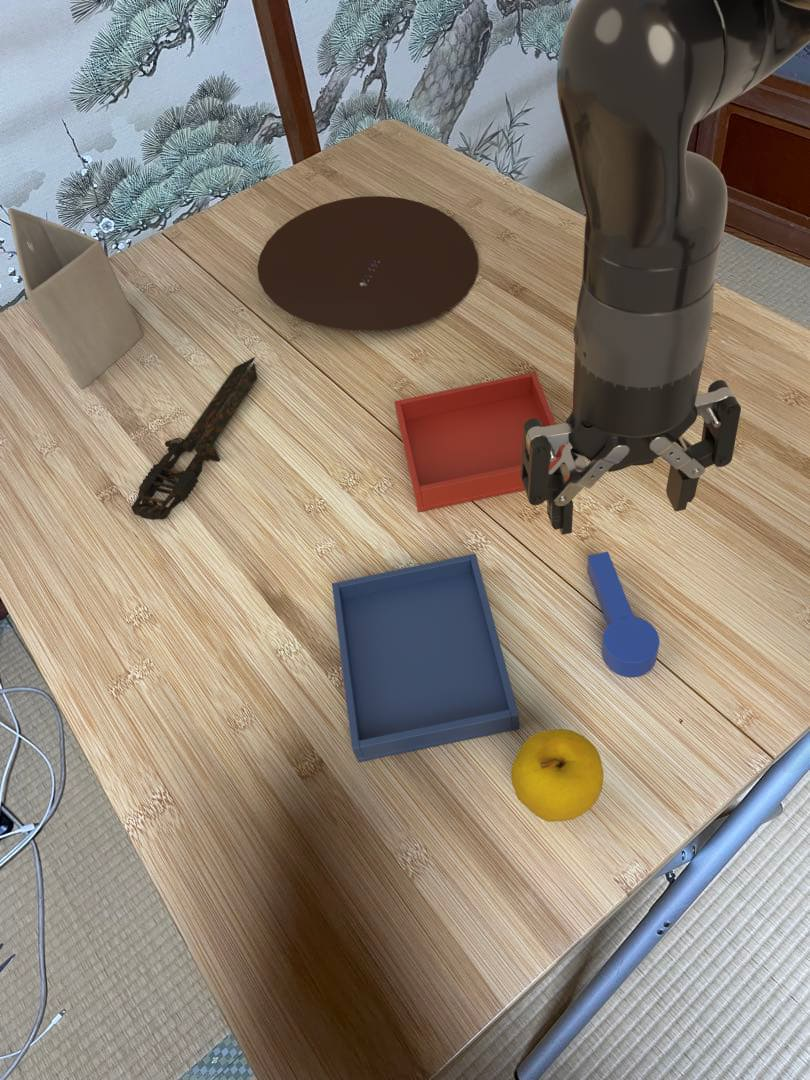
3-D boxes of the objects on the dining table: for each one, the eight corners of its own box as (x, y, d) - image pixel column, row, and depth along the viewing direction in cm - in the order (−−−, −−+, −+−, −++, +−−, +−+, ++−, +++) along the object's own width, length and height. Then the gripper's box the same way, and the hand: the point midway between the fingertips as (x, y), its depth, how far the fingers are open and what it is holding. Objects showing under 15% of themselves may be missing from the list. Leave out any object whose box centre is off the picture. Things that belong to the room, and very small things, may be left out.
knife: (246, 359, 101) (243, 350, 100) (291, 369, 98) (288, 360, 97) (119, 510, 88) (114, 502, 87) (167, 526, 85) (163, 518, 84)
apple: (503, 824, 62) (498, 782, 56) (526, 746, 66) (524, 699, 59) (589, 850, 60) (594, 810, 54) (608, 769, 64) (614, 723, 57)
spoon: (572, 574, 75) (573, 558, 73) (620, 564, 75) (622, 548, 73) (611, 682, 68) (612, 667, 66) (664, 671, 68) (667, 656, 66)
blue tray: (477, 570, 77) (475, 553, 75) (519, 729, 67) (518, 714, 65) (337, 599, 77) (331, 583, 75) (358, 762, 67) (352, 749, 65)
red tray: (535, 393, 90) (535, 371, 88) (569, 480, 82) (570, 459, 79) (398, 422, 90) (394, 400, 88) (418, 512, 82) (414, 491, 80)
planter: (143, 375, 101) (72, 231, 86) (79, 390, 101) (-3, 249, 86) (144, 298, 112) (81, 158, 97) (86, 311, 112) (14, 173, 97)
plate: (442, 354, 96) (439, 328, 93) (229, 332, 105) (220, 307, 102) (502, 219, 112) (501, 193, 109) (312, 209, 120) (307, 184, 117)
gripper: (538, 406, 47) (538, 573, 60) (786, 355, 47) (733, 532, 60) (506, 326, 52) (513, 496, 64) (732, 279, 52) (694, 458, 64)
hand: (619, 513), depth 62 cm, fingers open, 8 cm apart
